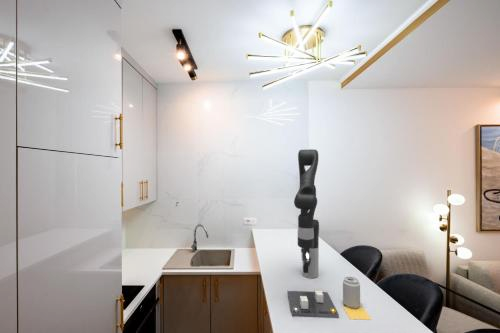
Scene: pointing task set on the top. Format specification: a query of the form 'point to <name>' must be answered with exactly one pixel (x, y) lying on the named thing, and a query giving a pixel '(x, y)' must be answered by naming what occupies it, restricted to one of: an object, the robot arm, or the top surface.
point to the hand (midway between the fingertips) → (305, 272)
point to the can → (351, 292)
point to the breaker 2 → (319, 296)
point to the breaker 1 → (303, 302)
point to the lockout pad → (356, 313)
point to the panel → (312, 305)
